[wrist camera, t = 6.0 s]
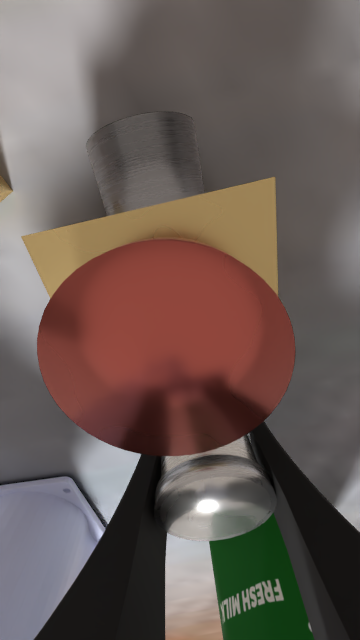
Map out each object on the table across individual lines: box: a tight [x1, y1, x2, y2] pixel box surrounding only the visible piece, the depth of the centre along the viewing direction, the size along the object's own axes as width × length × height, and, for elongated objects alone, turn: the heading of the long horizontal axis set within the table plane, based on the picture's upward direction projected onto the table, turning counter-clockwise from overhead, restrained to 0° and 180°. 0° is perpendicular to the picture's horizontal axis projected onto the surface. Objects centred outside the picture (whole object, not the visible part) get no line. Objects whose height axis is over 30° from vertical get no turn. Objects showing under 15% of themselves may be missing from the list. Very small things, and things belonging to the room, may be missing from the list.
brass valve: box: [21, 112, 295, 456], centre depth 7 cm, size 9×5×7 cm, turn 12°
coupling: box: [154, 434, 277, 541], centre depth 10 cm, size 4×4×5 cm
